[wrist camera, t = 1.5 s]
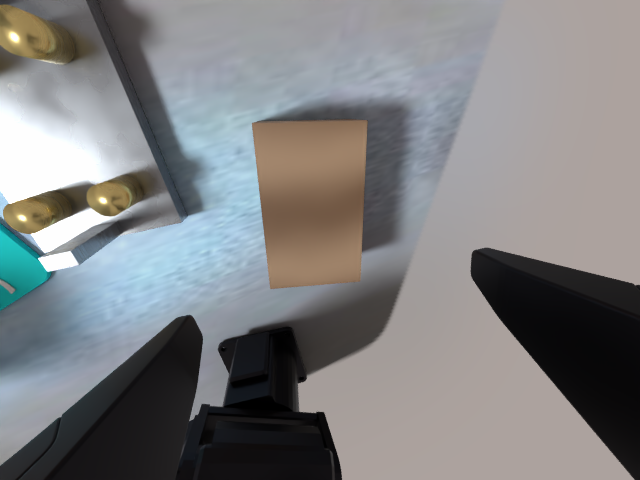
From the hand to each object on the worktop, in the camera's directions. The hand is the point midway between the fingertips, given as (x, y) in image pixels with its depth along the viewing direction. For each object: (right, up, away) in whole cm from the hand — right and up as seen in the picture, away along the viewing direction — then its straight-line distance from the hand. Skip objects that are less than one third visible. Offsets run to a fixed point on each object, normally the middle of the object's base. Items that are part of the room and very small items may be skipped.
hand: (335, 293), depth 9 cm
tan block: (-1, +5, +11) cm, 12 cm away
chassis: (-15, +8, +8) cm, 19 cm away
